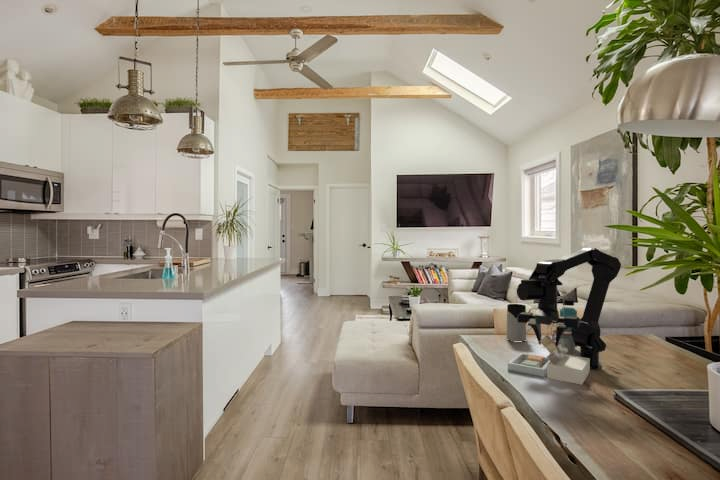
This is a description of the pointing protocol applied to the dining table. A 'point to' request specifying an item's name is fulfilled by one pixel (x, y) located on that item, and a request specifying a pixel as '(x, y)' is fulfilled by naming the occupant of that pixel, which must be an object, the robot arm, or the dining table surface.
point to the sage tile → (530, 363)
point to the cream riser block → (569, 369)
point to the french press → (565, 333)
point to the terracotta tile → (536, 359)
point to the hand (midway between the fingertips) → (548, 345)
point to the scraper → (553, 349)
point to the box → (517, 366)
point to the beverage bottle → (568, 312)
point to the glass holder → (516, 323)
